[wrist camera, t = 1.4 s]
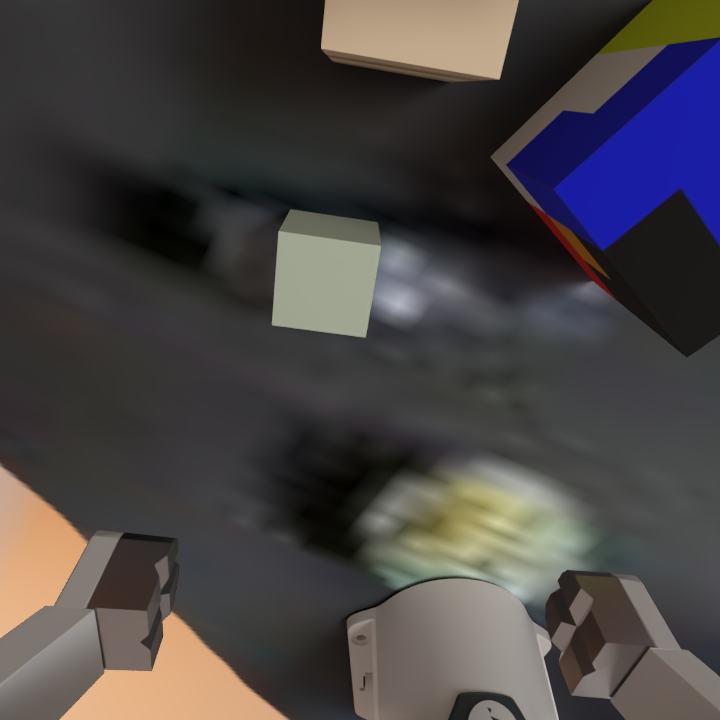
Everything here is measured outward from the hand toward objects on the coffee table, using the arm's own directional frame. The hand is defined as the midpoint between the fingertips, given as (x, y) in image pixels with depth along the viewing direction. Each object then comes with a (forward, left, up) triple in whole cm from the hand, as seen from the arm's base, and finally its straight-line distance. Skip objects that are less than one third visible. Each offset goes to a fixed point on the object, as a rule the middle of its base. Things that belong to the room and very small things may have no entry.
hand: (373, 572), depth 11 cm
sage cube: (0, +2, -22) cm, 22 cm away
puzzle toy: (+8, -13, -22) cm, 27 cm away
